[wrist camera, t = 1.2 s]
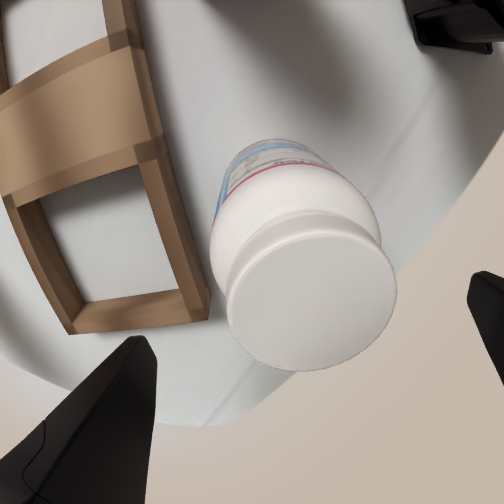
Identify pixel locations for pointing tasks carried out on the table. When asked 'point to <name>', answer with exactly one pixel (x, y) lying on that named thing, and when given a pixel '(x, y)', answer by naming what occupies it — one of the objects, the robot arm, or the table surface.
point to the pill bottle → (298, 259)
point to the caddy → (95, 170)
